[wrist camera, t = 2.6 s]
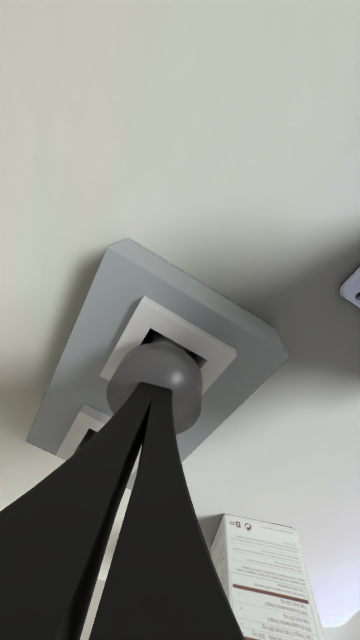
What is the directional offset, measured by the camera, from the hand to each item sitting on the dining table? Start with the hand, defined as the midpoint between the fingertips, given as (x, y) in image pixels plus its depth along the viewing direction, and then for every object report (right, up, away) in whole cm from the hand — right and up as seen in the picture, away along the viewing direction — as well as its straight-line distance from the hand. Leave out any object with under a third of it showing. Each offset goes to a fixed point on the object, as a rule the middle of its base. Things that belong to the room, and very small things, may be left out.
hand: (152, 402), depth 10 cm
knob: (+1, +2, +4) cm, 5 cm away
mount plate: (-1, 0, +7) cm, 7 cm away
